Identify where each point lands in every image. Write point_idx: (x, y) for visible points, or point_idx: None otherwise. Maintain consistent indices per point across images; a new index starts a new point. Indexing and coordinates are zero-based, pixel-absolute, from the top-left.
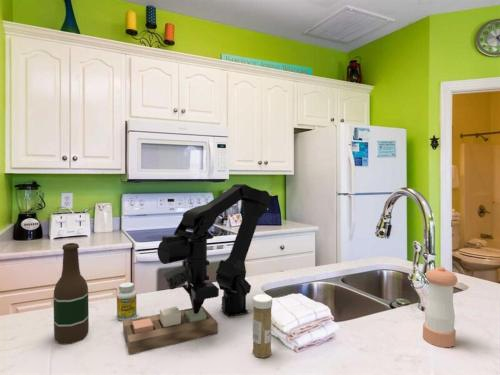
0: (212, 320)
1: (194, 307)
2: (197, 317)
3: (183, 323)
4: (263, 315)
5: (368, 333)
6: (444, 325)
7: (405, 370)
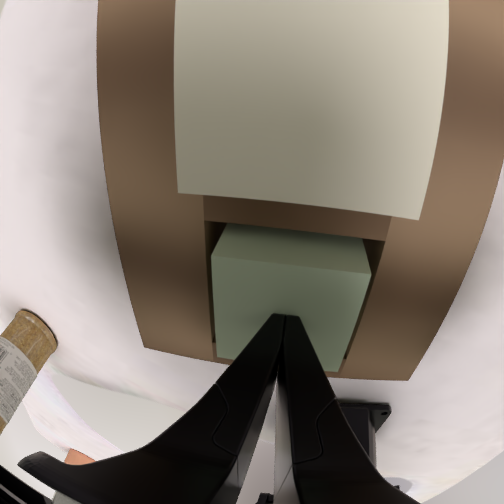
0: (181, 345)
1: (239, 355)
2: (217, 301)
3: None
4: None
5: (107, 452)
6: None
7: (23, 403)
